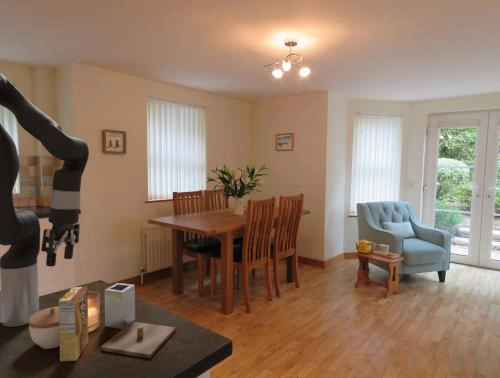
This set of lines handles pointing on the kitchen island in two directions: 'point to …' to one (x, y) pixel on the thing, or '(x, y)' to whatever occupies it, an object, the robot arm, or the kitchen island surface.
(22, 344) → the kitchen island surface
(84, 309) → the candy box
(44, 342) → the lidded jar
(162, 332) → the hub plate
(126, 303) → the steel sleeve
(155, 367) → the kitchen island surface
